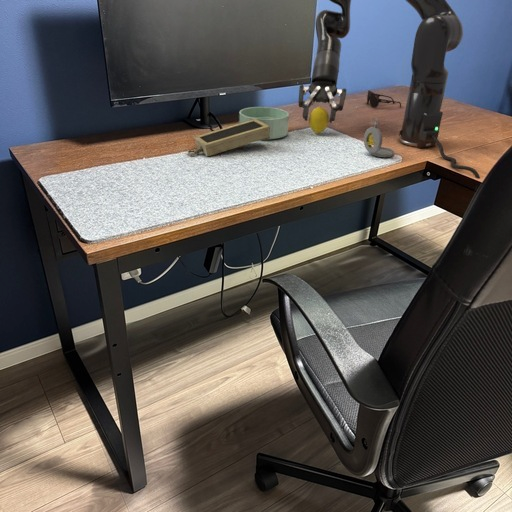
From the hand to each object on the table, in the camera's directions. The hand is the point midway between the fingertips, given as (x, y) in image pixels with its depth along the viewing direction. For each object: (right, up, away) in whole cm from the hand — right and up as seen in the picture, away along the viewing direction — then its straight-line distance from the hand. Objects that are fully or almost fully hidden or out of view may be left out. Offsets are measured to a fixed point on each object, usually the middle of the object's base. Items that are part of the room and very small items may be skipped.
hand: (318, 120), depth 141 cm
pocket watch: (+14, -12, -11) cm, 22 cm away
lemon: (0, -3, +4) cm, 5 cm away
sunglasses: (+29, +16, +38) cm, 50 cm away
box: (-26, -11, -12) cm, 30 cm away
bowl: (-16, -3, +2) cm, 16 cm away
